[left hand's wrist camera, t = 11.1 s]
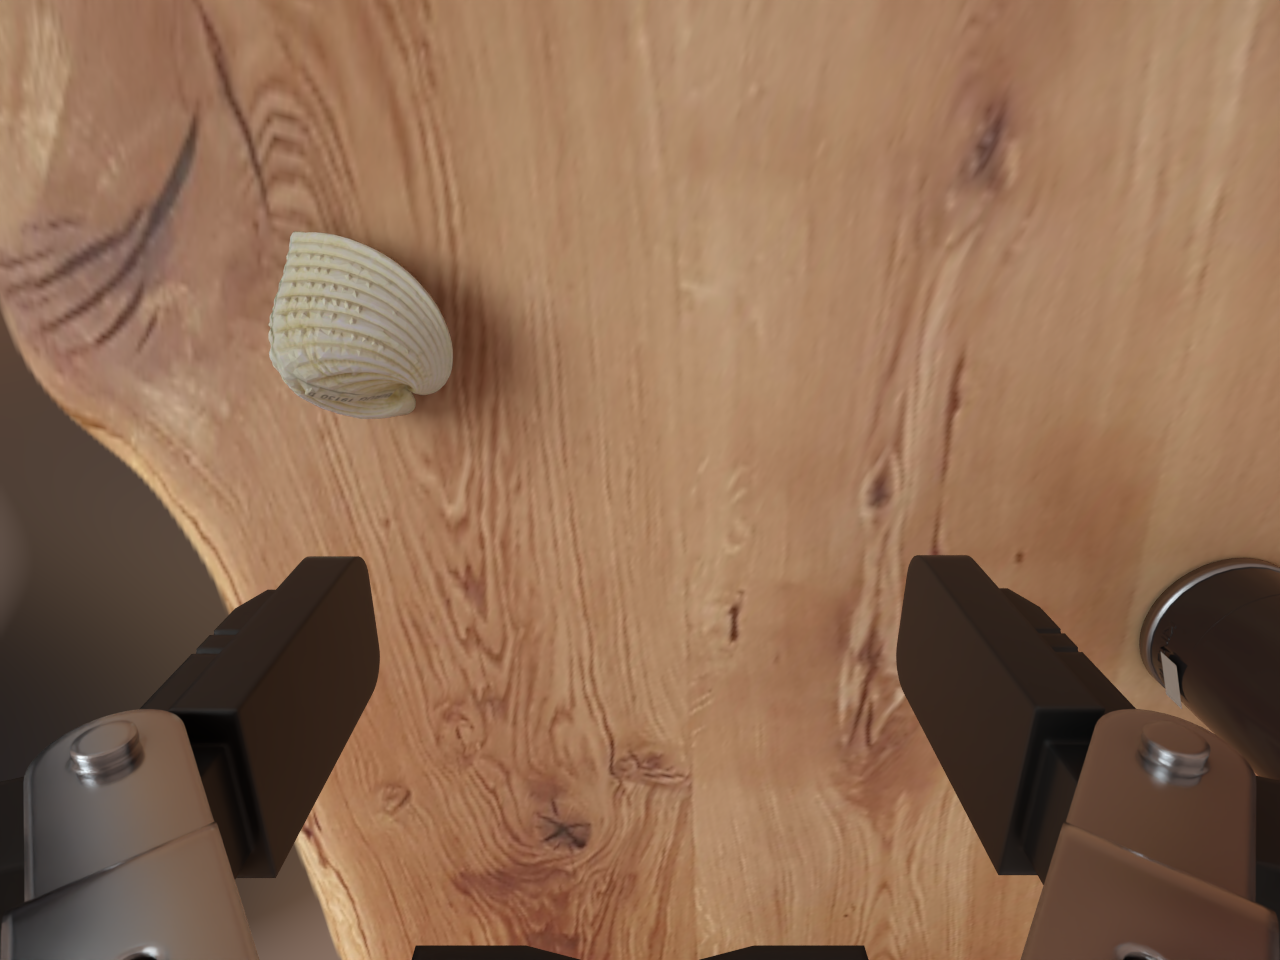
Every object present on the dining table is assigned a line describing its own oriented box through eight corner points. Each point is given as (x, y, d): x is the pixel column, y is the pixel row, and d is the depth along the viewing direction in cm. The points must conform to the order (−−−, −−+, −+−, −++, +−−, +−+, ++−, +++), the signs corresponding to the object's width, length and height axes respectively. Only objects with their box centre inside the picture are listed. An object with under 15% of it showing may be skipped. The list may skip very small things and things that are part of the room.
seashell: (374, 470, 40) (216, 406, 34) (392, 344, 44) (254, 270, 39) (473, 404, 35) (309, 319, 30) (482, 271, 39) (340, 176, 34)
